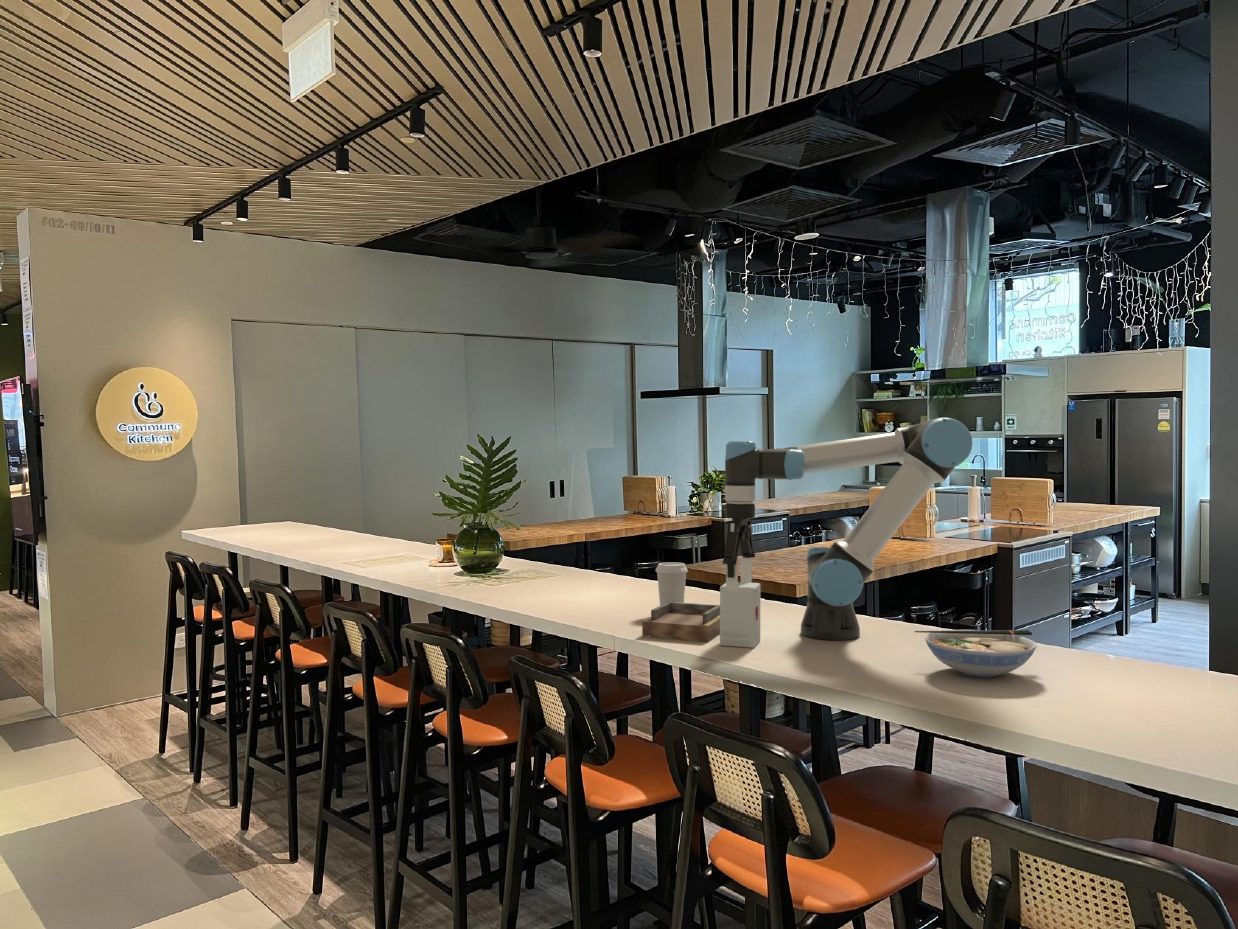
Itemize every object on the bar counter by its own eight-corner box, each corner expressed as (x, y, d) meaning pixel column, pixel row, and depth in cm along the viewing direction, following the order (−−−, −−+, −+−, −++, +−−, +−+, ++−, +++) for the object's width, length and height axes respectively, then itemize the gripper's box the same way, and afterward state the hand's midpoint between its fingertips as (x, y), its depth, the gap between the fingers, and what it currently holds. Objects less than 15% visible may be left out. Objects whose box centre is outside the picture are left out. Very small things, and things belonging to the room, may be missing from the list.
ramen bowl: (930, 686, 186) (930, 646, 186) (910, 659, 208) (910, 624, 208) (1058, 689, 182) (1058, 649, 182) (1023, 662, 205) (1023, 627, 205)
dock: (728, 628, 245) (728, 604, 245) (708, 642, 228) (708, 616, 228) (665, 623, 252) (665, 600, 252) (642, 636, 235) (642, 611, 235)
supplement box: (755, 648, 221) (754, 587, 220) (719, 646, 224) (719, 586, 223) (761, 641, 229) (761, 582, 229) (726, 638, 232) (726, 580, 232)
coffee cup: (688, 612, 270) (688, 562, 269) (687, 618, 260) (687, 566, 260) (656, 611, 270) (656, 561, 270) (654, 617, 261) (654, 566, 261)
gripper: (738, 499, 239) (737, 579, 239) (710, 504, 216) (710, 593, 216) (766, 500, 236) (765, 580, 236) (741, 505, 213) (740, 595, 213)
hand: (739, 586), depth 226 cm, fingers open, 13 cm apart
